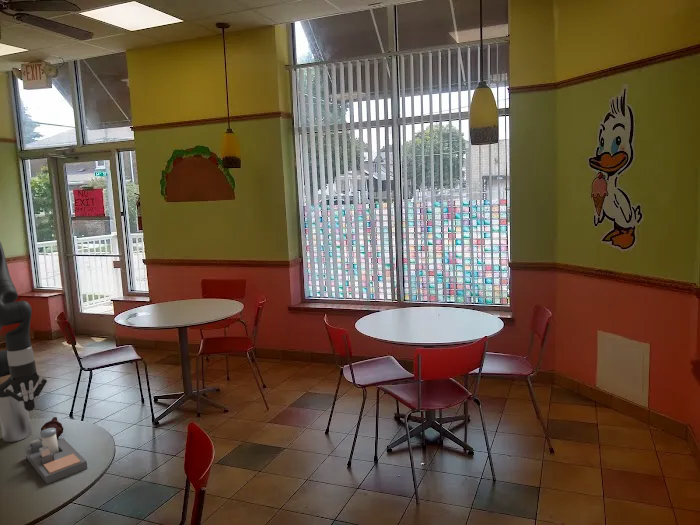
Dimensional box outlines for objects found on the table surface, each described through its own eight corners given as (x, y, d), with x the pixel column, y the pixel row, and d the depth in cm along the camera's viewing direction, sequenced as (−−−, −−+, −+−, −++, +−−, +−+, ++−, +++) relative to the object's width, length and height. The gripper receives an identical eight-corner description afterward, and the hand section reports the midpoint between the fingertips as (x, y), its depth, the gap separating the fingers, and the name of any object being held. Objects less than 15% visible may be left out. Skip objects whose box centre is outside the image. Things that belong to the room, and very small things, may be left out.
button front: (40, 457, 179) (39, 448, 179) (48, 454, 181) (47, 445, 180) (42, 459, 177) (41, 450, 177) (50, 456, 179) (49, 447, 178)
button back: (32, 449, 188) (30, 441, 188) (39, 446, 190) (38, 438, 189) (33, 451, 186) (32, 443, 186) (41, 449, 188) (40, 440, 187)
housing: (26, 458, 188) (24, 445, 187) (64, 444, 196) (62, 432, 195) (46, 484, 169) (44, 470, 169) (87, 468, 177) (85, 455, 177)
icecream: (62, 426, 196) (66, 414, 210) (39, 426, 193) (45, 414, 207) (59, 446, 196) (64, 433, 210) (36, 446, 193) (42, 432, 207)
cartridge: (43, 459, 186) (38, 431, 184) (57, 453, 189) (53, 426, 188) (46, 463, 183) (42, 435, 181) (61, 458, 186) (57, 430, 184)
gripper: (40, 353, 190) (48, 401, 193) (-4, 364, 181) (5, 414, 184) (46, 357, 185) (54, 406, 187) (1, 369, 176) (10, 420, 179)
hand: (30, 410), depth 186 cm, fingers closed
